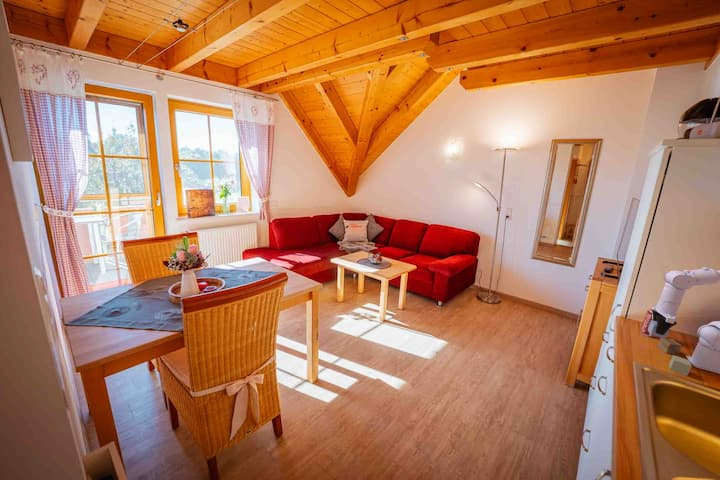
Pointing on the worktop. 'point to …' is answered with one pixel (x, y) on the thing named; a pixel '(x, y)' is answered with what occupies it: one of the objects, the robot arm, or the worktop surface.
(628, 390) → the worktop surface
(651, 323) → the slate blue block
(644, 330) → the soda can
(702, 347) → the robot arm
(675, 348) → the walnut block
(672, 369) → the olive block
